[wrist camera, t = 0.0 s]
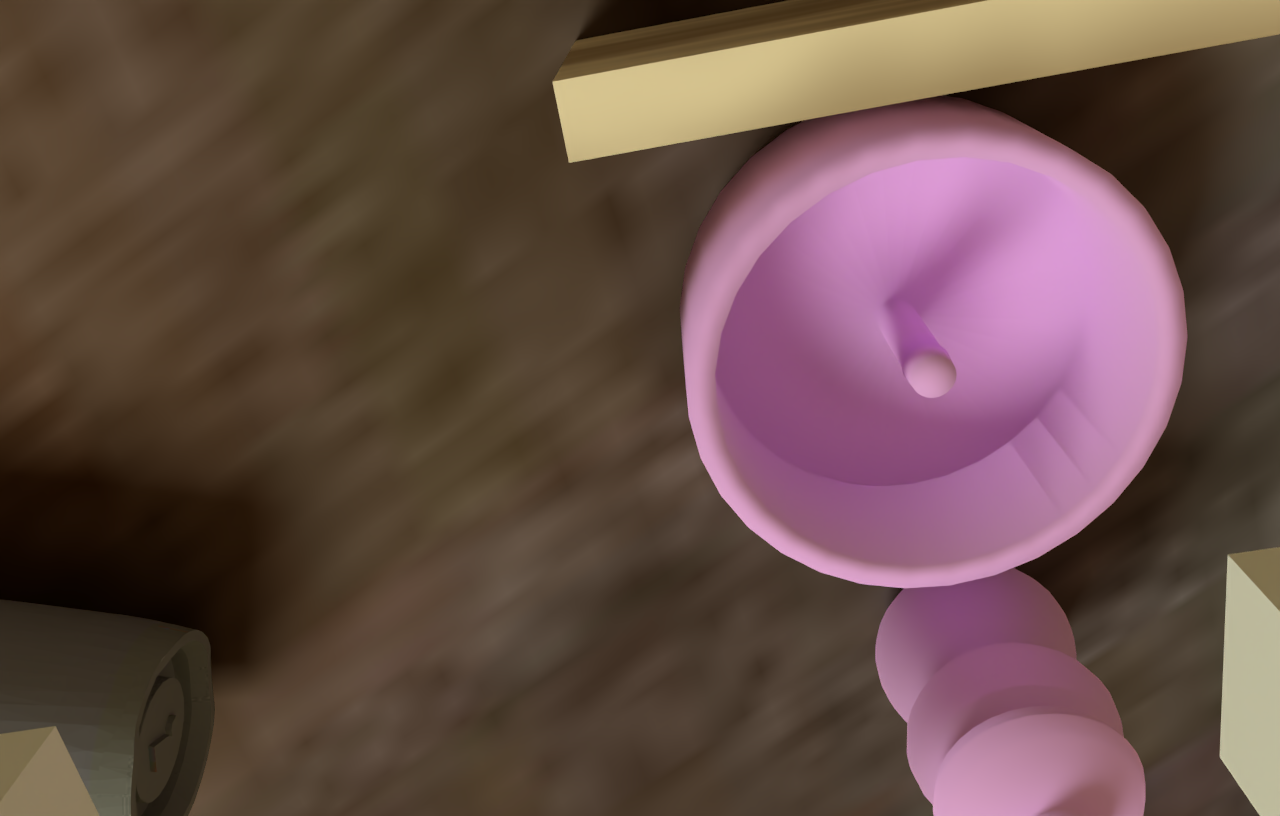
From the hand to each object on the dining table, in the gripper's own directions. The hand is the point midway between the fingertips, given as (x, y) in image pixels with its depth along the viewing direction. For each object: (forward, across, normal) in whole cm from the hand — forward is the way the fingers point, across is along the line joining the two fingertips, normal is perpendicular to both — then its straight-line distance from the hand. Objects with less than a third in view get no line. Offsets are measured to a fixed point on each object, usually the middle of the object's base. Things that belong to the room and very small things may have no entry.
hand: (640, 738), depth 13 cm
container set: (+28, +9, -11) cm, 31 cm away
